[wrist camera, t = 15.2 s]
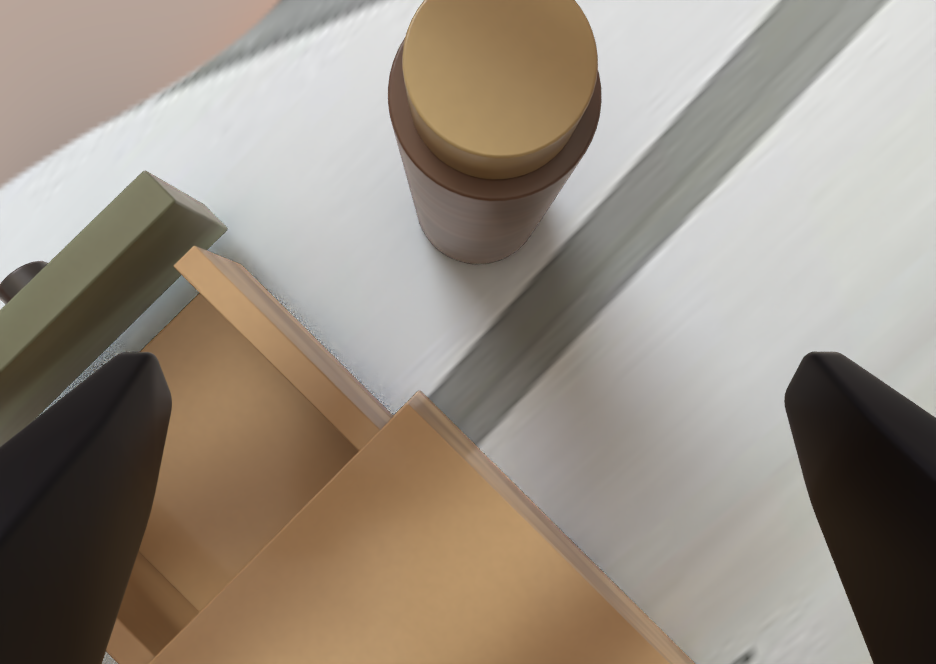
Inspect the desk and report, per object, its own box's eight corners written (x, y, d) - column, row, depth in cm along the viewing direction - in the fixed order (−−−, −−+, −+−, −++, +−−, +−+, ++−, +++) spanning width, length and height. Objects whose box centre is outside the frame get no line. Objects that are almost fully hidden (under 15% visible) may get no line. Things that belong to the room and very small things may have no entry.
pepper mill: (496, 288, 22) (537, 228, 11) (391, 220, 22) (331, 94, 11) (563, 184, 22) (667, 26, 12) (459, 117, 22) (464, -105, 12)
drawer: (-49, 397, 21) (-171, 408, 17) (177, 177, 21) (111, 136, 17) (251, 697, 21) (202, 780, 17) (473, 471, 21) (477, 500, 17)
